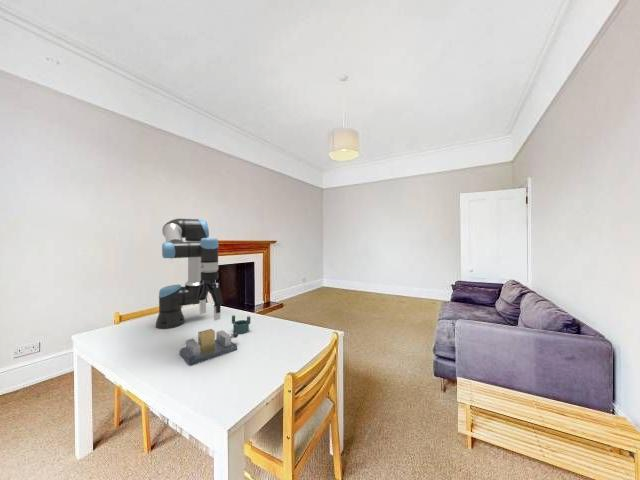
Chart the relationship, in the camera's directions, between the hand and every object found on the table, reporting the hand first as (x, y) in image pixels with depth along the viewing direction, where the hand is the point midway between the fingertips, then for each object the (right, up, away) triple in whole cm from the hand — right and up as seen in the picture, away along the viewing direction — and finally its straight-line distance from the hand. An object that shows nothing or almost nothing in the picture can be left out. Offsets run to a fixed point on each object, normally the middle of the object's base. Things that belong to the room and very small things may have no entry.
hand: (209, 316), depth 116 cm
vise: (0, -17, 0) cm, 17 cm away
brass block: (-1, -15, -1) cm, 15 cm away
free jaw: (+7, -15, +7) cm, 17 cm away
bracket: (+7, -17, +26) cm, 31 cm away
